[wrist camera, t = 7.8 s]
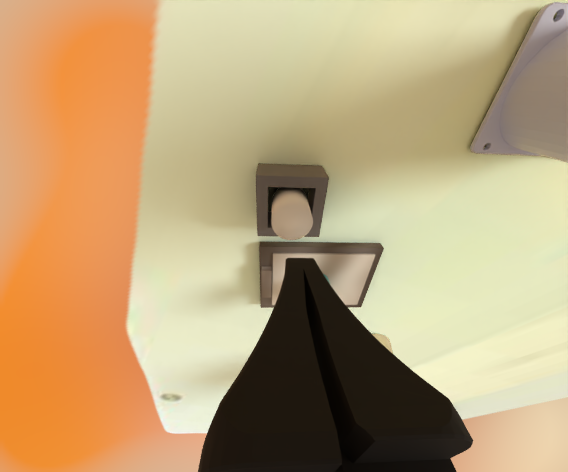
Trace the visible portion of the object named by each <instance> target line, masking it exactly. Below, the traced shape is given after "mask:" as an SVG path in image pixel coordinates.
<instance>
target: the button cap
mask: <svg viewBox="0 0 568 472" xmlns="http://www.w3.org/2000/svg"><path fill="white" fill-rule="evenodd" d="M271 224H272V228H273V230H274V232H275V233H276V234H277V235H278V236H279V237H281V238H283V239H287V240H296V239H299V238H302V237H304V236H305V235H307V234H308V233H309V231H310V230H311V228H312V225H313V217H312V214H311V210H310V207H309V203H308V200H307V196H306V194H305V192H304V191H303V190H302V189H301V188H290V187H281V188H279V189H278V190H277V191H276V192H275V193H274V195H273V197H272V220H271Z"/></svg>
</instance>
